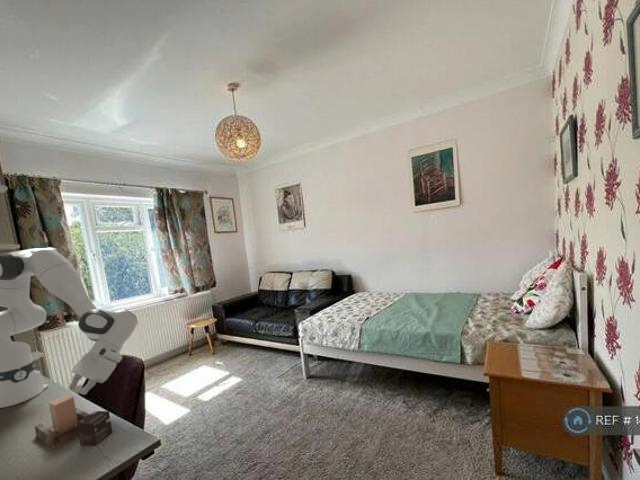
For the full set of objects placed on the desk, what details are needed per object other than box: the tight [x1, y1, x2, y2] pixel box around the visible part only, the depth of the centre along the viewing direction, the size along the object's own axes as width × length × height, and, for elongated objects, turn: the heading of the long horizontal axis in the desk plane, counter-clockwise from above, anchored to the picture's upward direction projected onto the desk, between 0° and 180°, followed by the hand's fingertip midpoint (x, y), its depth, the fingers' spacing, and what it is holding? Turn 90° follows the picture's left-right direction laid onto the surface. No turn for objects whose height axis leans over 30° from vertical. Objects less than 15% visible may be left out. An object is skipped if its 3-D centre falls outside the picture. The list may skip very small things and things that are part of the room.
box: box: [77, 410, 113, 447], centre depth 93 cm, size 6×6×7 cm
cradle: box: [34, 406, 91, 450], centre depth 99 cm, size 16×11×4 cm
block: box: [48, 394, 78, 434], centre depth 99 cm, size 5×5×10 cm
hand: (76, 391), depth 102 cm, fingers open, 8 cm apart
